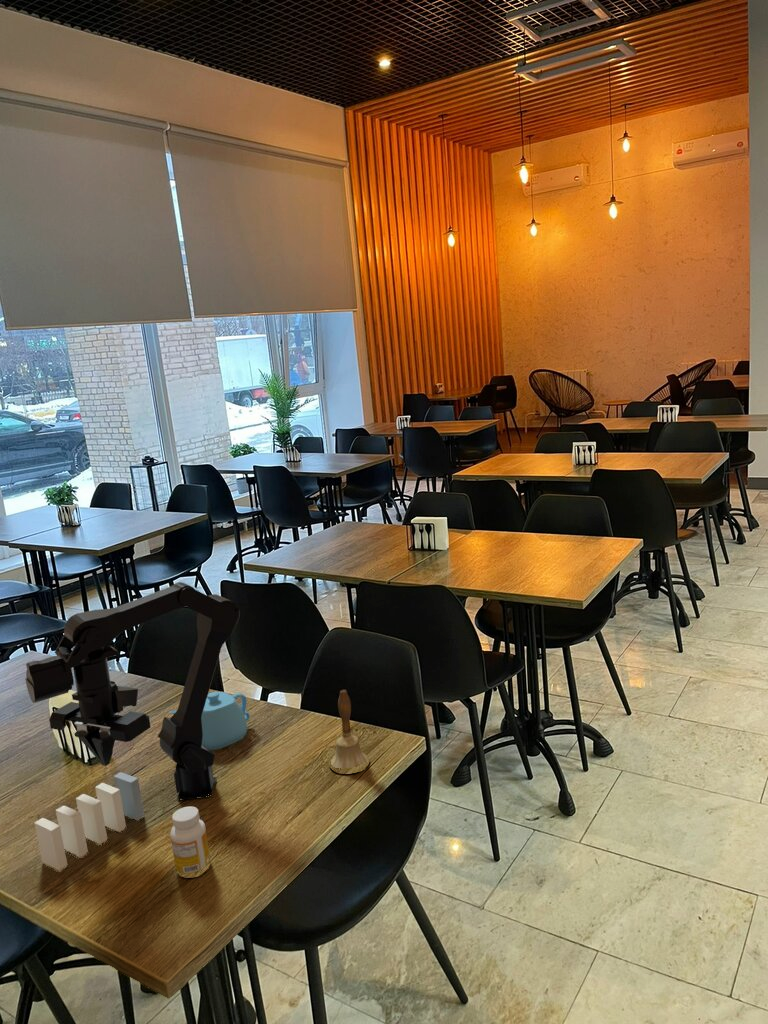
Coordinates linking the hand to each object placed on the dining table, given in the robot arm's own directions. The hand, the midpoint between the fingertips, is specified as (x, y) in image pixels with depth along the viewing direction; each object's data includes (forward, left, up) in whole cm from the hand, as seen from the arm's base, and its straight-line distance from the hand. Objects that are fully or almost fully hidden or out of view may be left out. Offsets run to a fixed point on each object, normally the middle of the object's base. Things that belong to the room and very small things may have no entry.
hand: (106, 764), depth 139 cm
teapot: (-13, -29, -13) cm, 34 cm away
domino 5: (-2, -3, -12) cm, 13 cm away
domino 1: (+7, +10, -12) cm, 18 cm away
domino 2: (+5, +7, -12) cm, 15 cm away
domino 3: (+3, +4, -12) cm, 13 cm away
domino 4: (0, +1, -12) cm, 12 cm away
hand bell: (-43, -13, -13) cm, 47 cm away
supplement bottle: (-17, +15, -13) cm, 26 cm away
